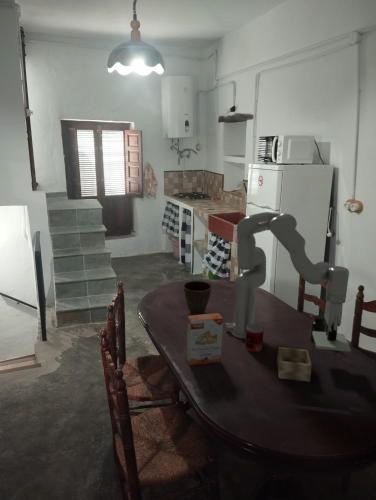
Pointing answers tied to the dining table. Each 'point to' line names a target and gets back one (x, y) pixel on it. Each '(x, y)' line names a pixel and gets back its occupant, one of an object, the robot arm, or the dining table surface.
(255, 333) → the canned food
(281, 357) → the pine box
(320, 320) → the supplement bottle
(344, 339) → the lid
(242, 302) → the robot arm
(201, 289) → the plant pot
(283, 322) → the dining table surface
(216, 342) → the cracker box
